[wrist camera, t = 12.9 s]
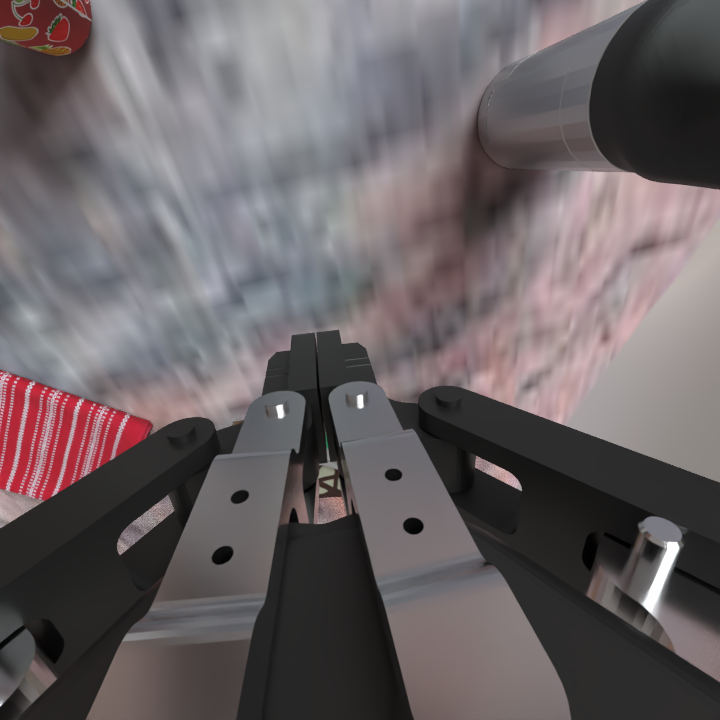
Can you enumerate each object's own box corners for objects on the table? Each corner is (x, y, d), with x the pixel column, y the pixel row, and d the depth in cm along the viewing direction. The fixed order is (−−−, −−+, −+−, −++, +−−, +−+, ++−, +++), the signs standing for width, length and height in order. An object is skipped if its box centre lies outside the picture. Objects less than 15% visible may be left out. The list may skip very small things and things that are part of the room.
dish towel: (122, 512, 55) (113, 528, 53) (-85, 459, 48) (-105, 475, 46) (160, 418, 50) (153, 431, 47) (-68, 342, 42) (-90, 353, 40)
